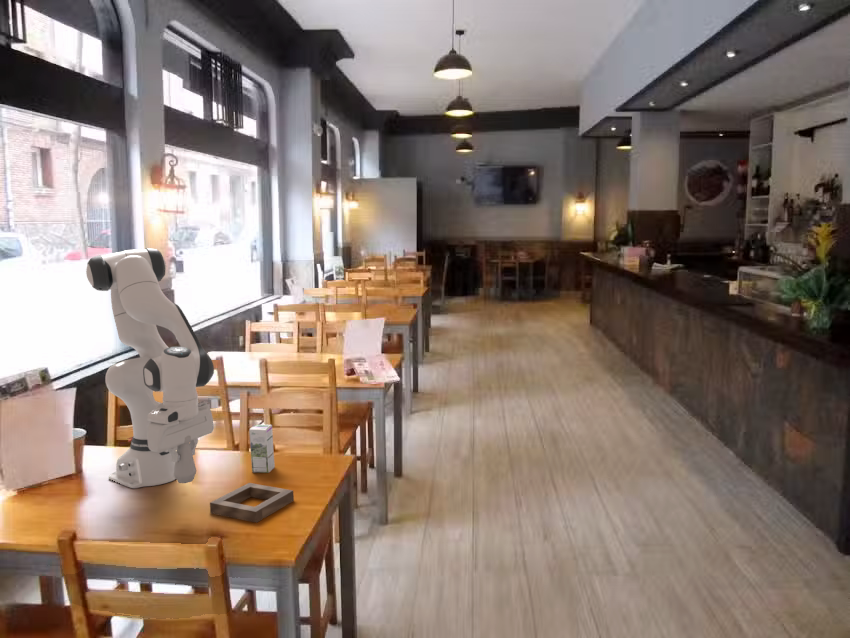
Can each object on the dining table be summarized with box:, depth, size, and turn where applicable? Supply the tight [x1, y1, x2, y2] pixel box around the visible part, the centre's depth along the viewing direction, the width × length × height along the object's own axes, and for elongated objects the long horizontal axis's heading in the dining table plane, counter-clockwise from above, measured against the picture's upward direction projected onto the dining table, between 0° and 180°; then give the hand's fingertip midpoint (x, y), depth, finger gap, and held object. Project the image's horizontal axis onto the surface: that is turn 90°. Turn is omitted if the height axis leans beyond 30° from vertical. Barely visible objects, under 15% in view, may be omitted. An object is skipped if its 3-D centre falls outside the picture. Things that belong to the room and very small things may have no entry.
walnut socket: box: [209, 482, 295, 523], centre depth 191 cm, size 16×16×3 cm
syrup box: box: [248, 424, 276, 474], centre depth 220 cm, size 6×6×14 cm
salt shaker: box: [174, 436, 197, 484], centre depth 184 cm, size 6×6×13 cm
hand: (183, 458), depth 184 cm, fingers closed on salt shaker, 4 cm apart
